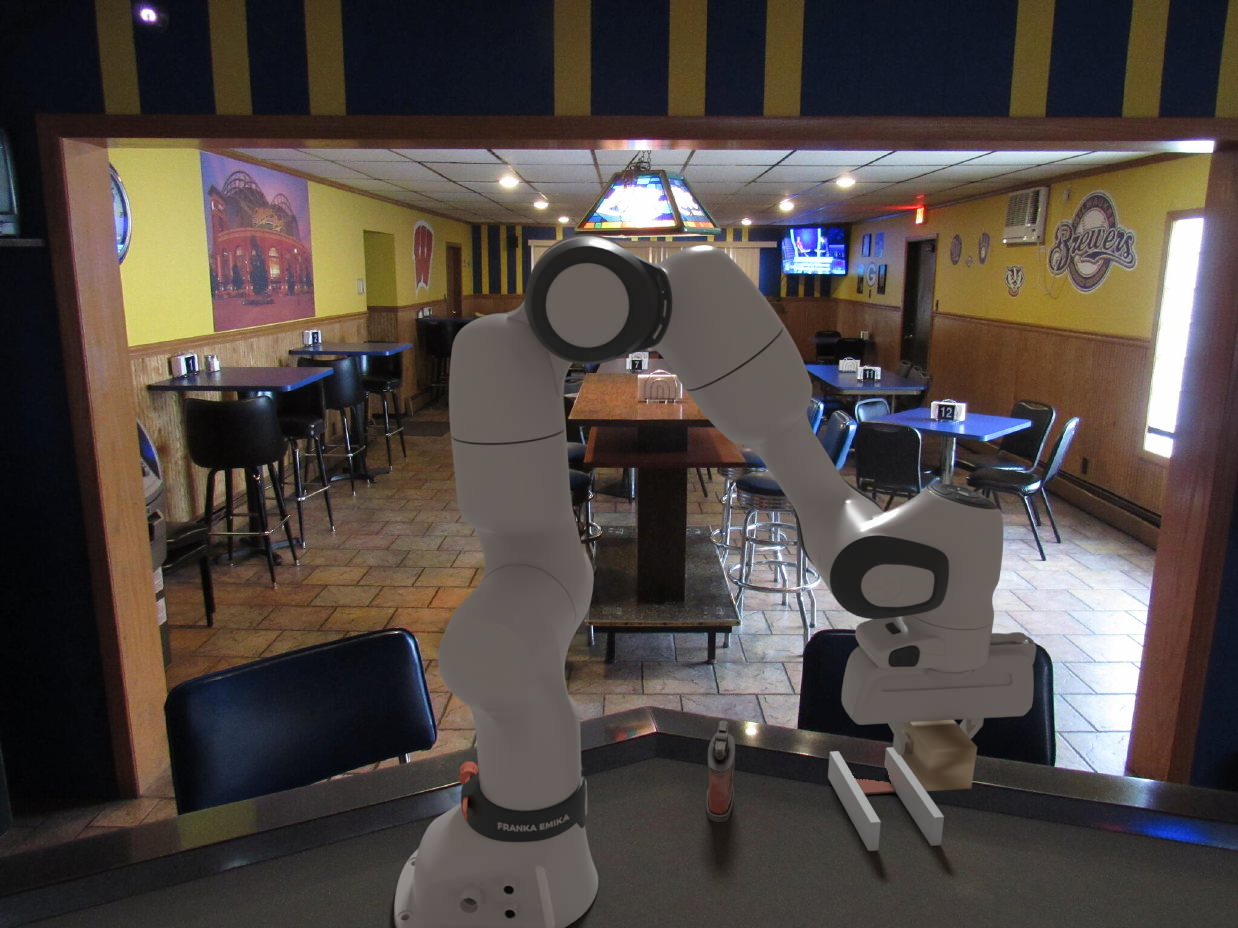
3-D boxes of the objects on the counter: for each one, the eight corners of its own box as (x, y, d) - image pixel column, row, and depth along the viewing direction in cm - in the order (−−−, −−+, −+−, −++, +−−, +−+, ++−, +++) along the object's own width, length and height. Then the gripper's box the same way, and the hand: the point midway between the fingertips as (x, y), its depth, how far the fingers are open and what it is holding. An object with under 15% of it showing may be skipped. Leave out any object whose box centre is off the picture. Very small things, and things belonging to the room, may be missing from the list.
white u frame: (868, 850, 100) (870, 822, 99) (828, 777, 113) (829, 751, 112) (940, 844, 101) (944, 816, 100) (892, 772, 114) (894, 746, 113)
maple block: (925, 791, 88) (931, 749, 87) (897, 751, 95) (902, 712, 93) (971, 788, 88) (977, 747, 87) (940, 748, 95) (945, 709, 94)
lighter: (730, 823, 105) (733, 753, 102) (703, 819, 105) (705, 750, 103) (735, 782, 112) (737, 717, 110) (710, 779, 113) (711, 714, 110)
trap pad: (848, 795, 110) (849, 793, 110) (838, 776, 113) (838, 774, 113) (894, 792, 110) (894, 790, 110) (882, 773, 114) (882, 771, 114)
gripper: (1021, 618, 93) (1004, 728, 96) (841, 625, 90) (831, 738, 94) (1055, 645, 86) (1036, 762, 90) (864, 654, 84) (852, 773, 88)
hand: (930, 749), depth 92 cm, fingers closed on maple block, 5 cm apart
